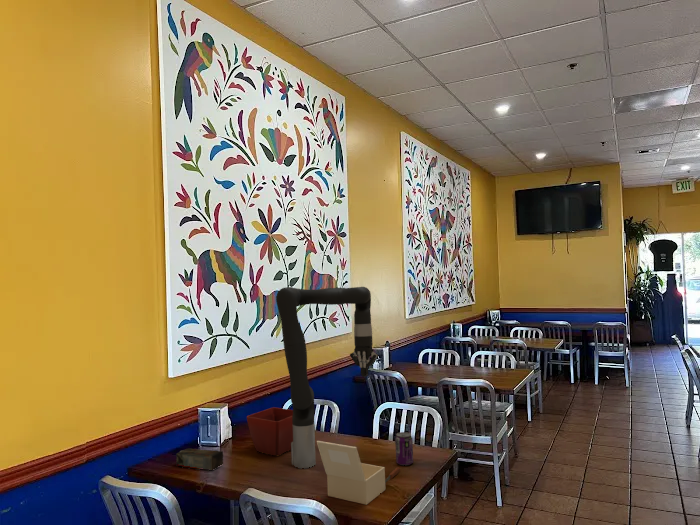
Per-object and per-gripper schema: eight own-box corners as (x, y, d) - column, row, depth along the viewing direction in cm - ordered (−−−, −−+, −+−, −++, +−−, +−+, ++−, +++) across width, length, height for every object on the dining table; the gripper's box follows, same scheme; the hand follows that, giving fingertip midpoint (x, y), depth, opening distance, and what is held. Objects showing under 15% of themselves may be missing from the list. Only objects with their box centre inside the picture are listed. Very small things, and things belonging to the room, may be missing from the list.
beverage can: (412, 466, 205) (411, 437, 206) (395, 466, 207) (394, 436, 207) (413, 460, 212) (412, 432, 213) (397, 460, 214) (396, 431, 214)
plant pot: (305, 447, 234) (304, 411, 235) (278, 460, 218) (277, 421, 219) (274, 441, 245) (273, 406, 245) (246, 453, 229) (245, 416, 229)
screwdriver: (397, 471, 202) (396, 466, 202) (400, 471, 201) (400, 466, 201) (381, 486, 188) (381, 480, 188) (385, 486, 187) (384, 481, 187)
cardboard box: (327, 495, 180) (327, 473, 181) (348, 481, 192) (347, 460, 193) (366, 504, 172) (365, 480, 172) (385, 489, 184) (384, 467, 184)
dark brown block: (188, 461, 222) (187, 445, 223) (224, 465, 215) (224, 449, 216) (175, 467, 215) (175, 451, 215) (213, 472, 208) (212, 456, 208)
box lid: (327, 472, 181) (326, 474, 180) (317, 440, 177) (316, 441, 176) (365, 480, 172) (364, 482, 172) (356, 447, 168) (355, 448, 168)
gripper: (344, 335, 210) (346, 377, 209) (372, 336, 203) (374, 379, 202) (354, 333, 216) (355, 373, 215) (381, 334, 209) (382, 375, 209)
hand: (364, 376), depth 209 cm, fingers closed
